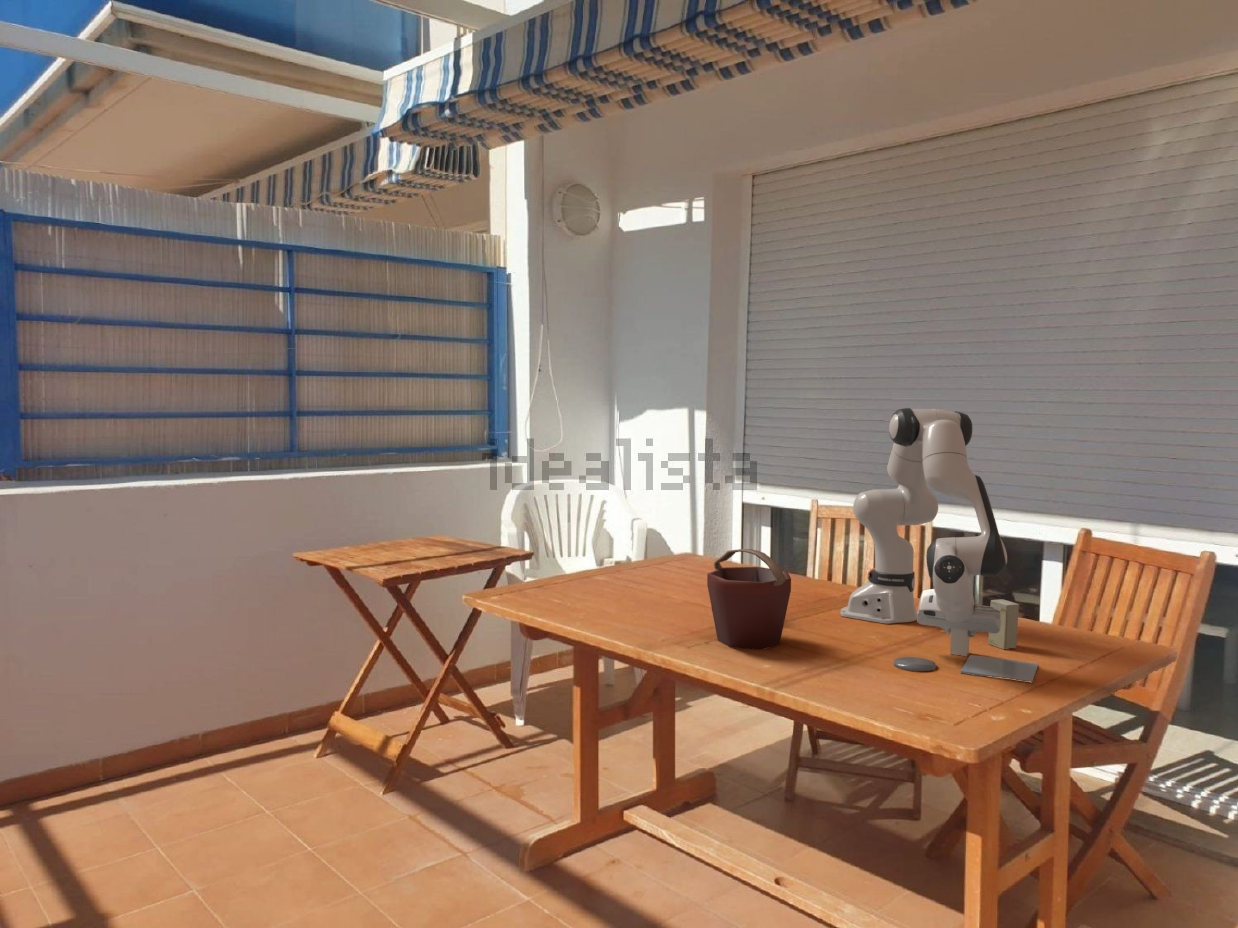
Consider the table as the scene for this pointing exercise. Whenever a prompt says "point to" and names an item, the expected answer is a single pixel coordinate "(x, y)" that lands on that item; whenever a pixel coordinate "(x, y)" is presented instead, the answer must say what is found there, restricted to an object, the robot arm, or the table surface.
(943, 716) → the table surface
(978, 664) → the tile
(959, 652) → the block
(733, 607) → the bucket
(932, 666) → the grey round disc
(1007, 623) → the skincare box
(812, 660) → the table surface
